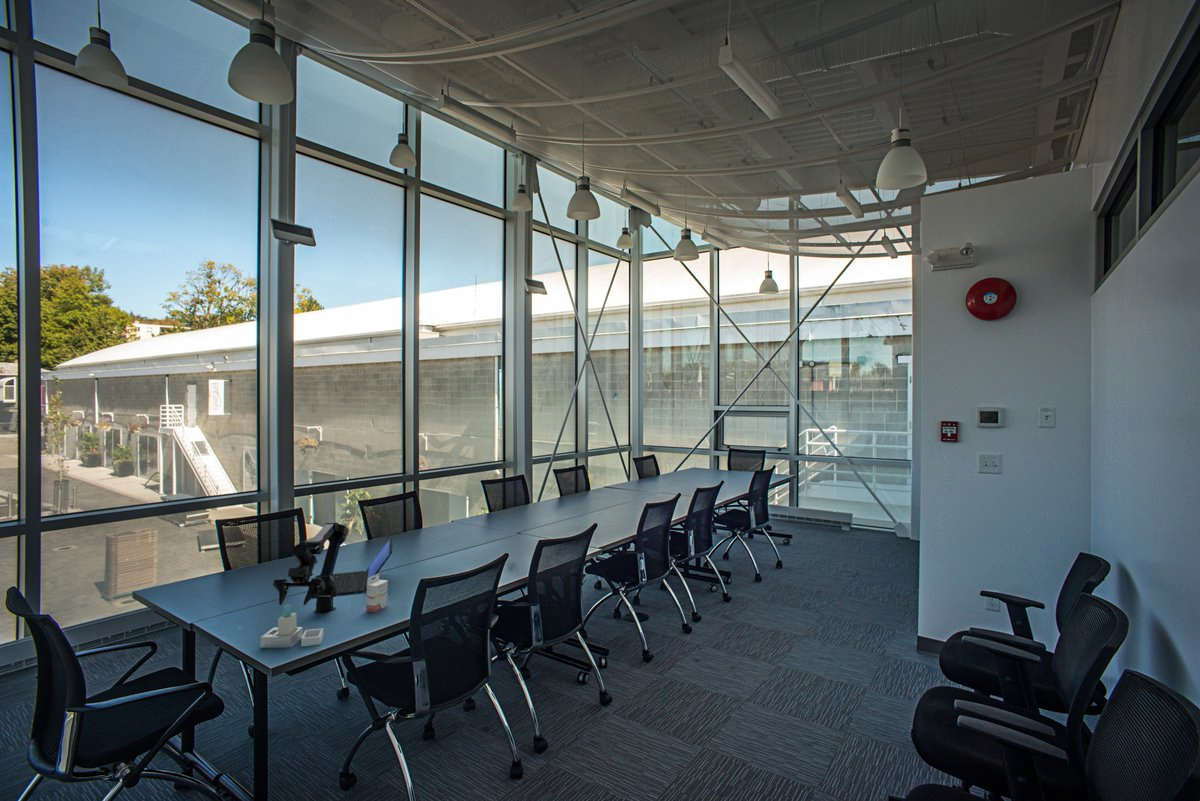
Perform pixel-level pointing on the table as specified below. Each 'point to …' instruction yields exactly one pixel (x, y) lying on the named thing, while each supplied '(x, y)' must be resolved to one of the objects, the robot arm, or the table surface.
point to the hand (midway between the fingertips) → (292, 604)
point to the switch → (280, 638)
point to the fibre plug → (287, 622)
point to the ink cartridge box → (376, 593)
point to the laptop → (361, 573)
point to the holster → (312, 637)
